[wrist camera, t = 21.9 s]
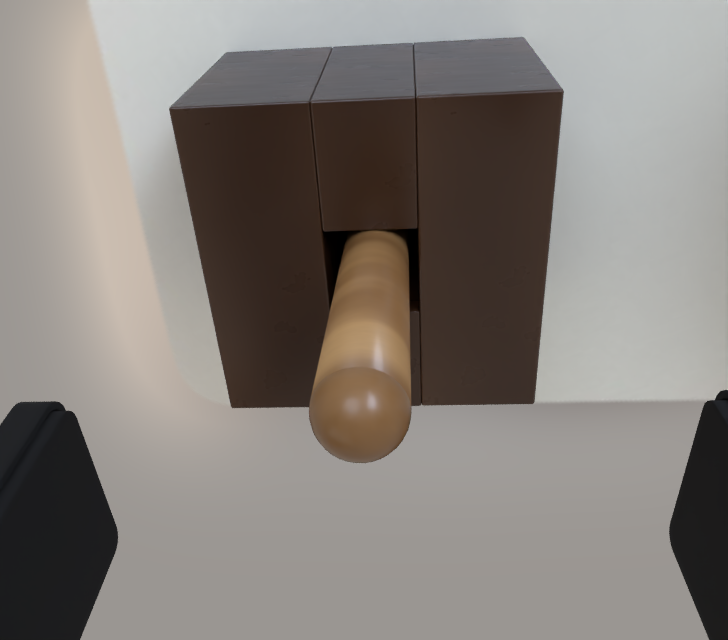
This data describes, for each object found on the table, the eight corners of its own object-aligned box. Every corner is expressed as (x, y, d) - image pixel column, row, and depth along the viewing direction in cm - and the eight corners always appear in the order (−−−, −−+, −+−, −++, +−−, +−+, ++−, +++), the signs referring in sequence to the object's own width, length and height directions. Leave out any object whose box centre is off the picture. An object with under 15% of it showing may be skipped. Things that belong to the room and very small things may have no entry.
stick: (346, 199, 27) (281, 447, 13) (377, 159, 26) (346, 375, 12) (386, 229, 28) (366, 502, 13) (418, 191, 27) (434, 436, 12)
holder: (265, 304, 30) (231, 408, 24) (225, 52, 24) (168, 107, 18) (508, 298, 29) (534, 404, 23) (524, 36, 24) (564, 89, 18)
